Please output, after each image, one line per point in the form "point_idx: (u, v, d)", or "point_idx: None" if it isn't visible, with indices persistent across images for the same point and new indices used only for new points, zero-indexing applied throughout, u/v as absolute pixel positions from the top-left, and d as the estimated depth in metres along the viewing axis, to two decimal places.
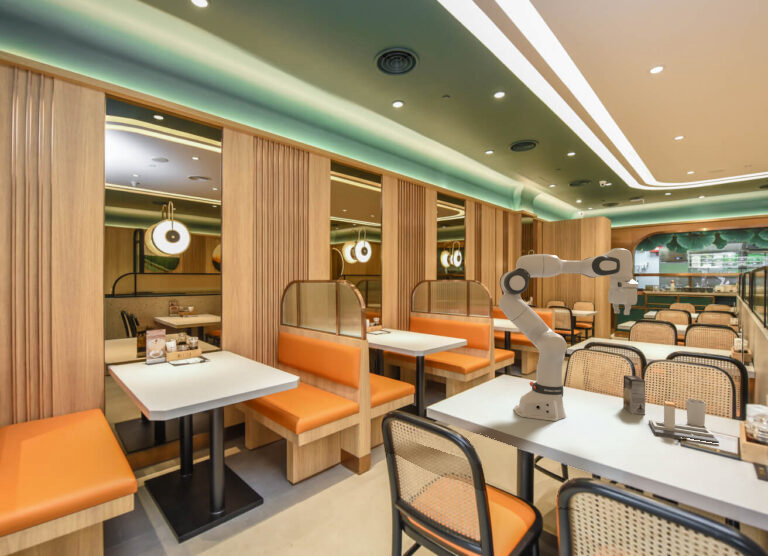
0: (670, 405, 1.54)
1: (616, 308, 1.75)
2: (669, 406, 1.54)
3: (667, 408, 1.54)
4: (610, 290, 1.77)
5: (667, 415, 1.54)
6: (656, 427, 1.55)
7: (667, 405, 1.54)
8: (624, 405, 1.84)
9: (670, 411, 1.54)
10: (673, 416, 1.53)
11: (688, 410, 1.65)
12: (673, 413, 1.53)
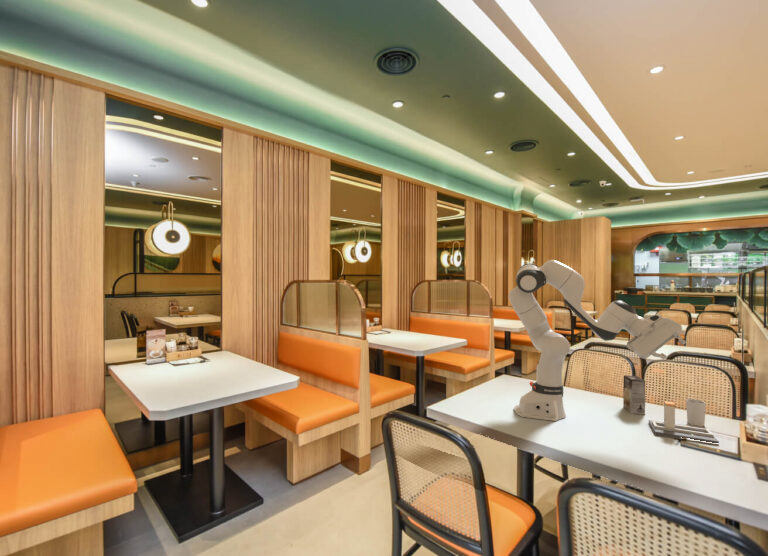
0: (670, 405, 1.54)
1: None
2: (669, 406, 1.54)
3: (667, 408, 1.54)
4: (636, 342, 1.56)
5: (667, 415, 1.54)
6: (656, 427, 1.55)
7: (667, 405, 1.54)
8: (624, 405, 1.84)
9: (670, 411, 1.54)
10: (673, 416, 1.53)
11: (688, 410, 1.65)
12: (673, 413, 1.53)
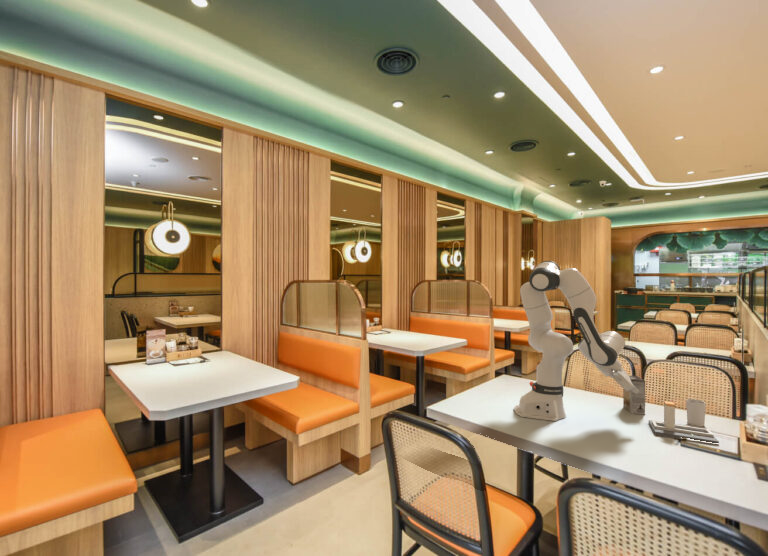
0: (670, 405, 1.54)
1: None
2: (669, 406, 1.54)
3: (667, 408, 1.54)
4: (621, 373, 1.57)
5: (667, 415, 1.54)
6: (656, 427, 1.55)
7: (667, 405, 1.54)
8: (624, 405, 1.84)
9: (670, 411, 1.54)
10: (673, 416, 1.53)
11: (688, 410, 1.65)
12: (673, 413, 1.53)
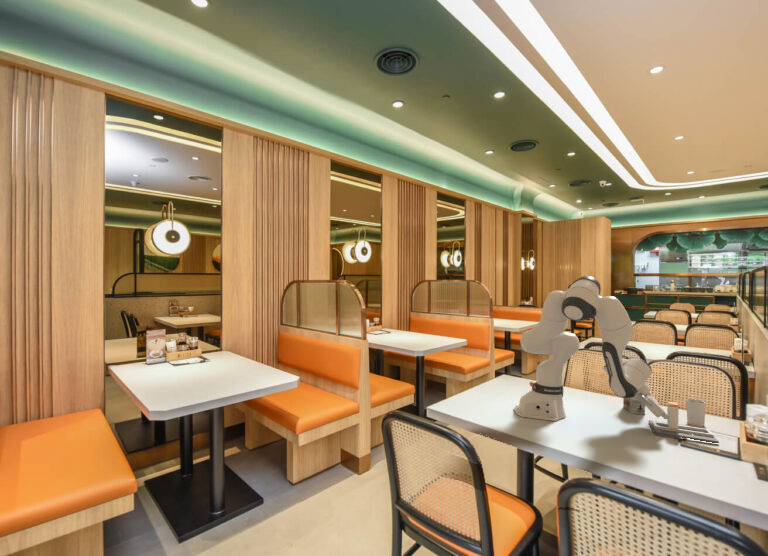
0: (673, 405, 1.53)
1: None
2: (672, 406, 1.54)
3: (670, 408, 1.54)
4: (651, 398, 1.52)
5: (670, 415, 1.54)
6: (656, 427, 1.55)
7: (670, 405, 1.54)
8: (624, 405, 1.84)
9: (673, 411, 1.53)
10: (676, 416, 1.53)
11: (688, 410, 1.65)
12: (676, 413, 1.53)
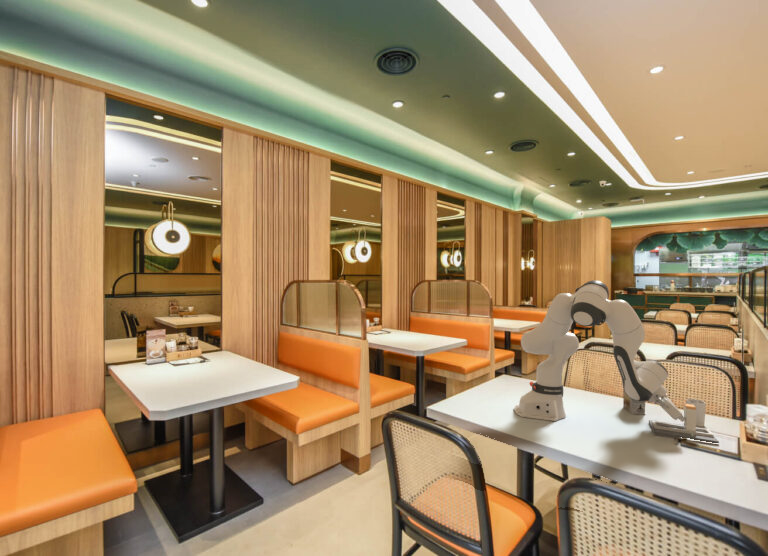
0: (691, 408, 1.51)
1: None
2: (689, 408, 1.51)
3: (688, 411, 1.51)
4: (668, 400, 1.50)
5: (688, 418, 1.51)
6: (656, 427, 1.55)
7: (688, 408, 1.51)
8: (624, 405, 1.84)
9: (691, 414, 1.51)
10: (694, 419, 1.50)
11: None
12: (694, 416, 1.50)
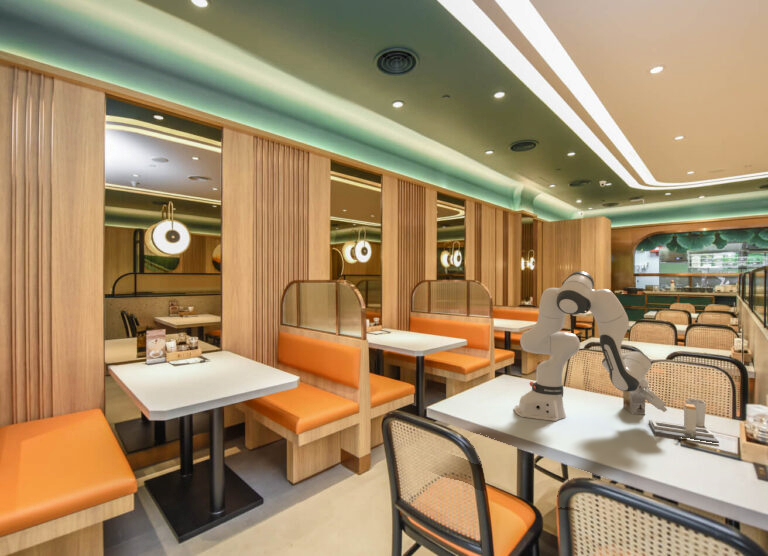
0: (691, 408, 1.51)
1: None
2: (689, 408, 1.51)
3: (688, 411, 1.51)
4: (651, 391, 1.52)
5: (688, 418, 1.51)
6: (656, 427, 1.55)
7: (688, 408, 1.51)
8: (624, 405, 1.84)
9: (691, 414, 1.51)
10: (694, 419, 1.50)
11: None
12: (694, 416, 1.50)
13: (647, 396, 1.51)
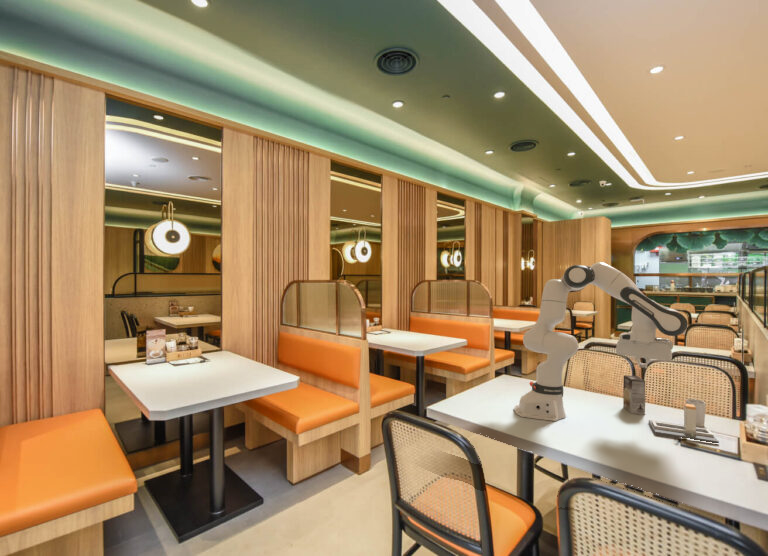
0: (691, 408, 1.51)
1: None
2: (689, 408, 1.51)
3: (688, 411, 1.51)
4: None
5: (688, 418, 1.51)
6: (656, 427, 1.55)
7: (688, 408, 1.51)
8: (624, 405, 1.84)
9: (691, 414, 1.51)
10: (694, 419, 1.50)
11: None
12: (694, 416, 1.50)
13: (669, 346, 1.57)
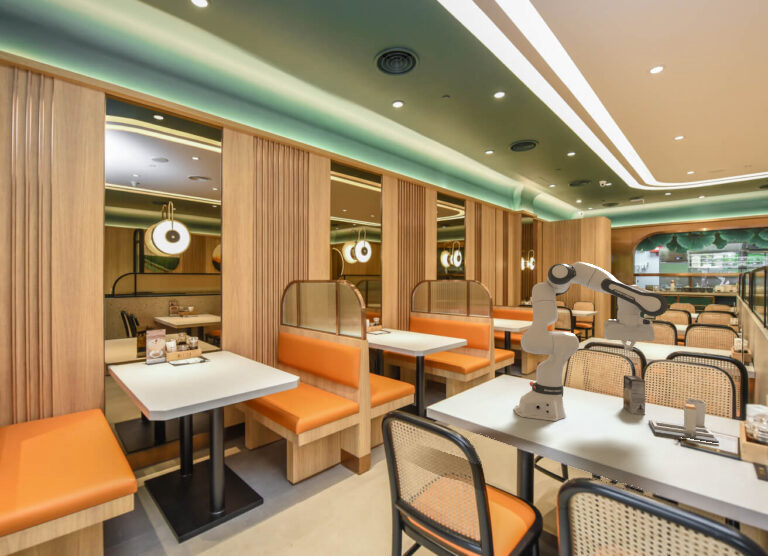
0: (691, 408, 1.51)
1: None
2: (689, 408, 1.51)
3: (688, 411, 1.51)
4: (613, 326, 1.71)
5: (688, 418, 1.51)
6: (656, 427, 1.55)
7: (688, 408, 1.51)
8: (624, 405, 1.84)
9: (691, 414, 1.51)
10: (694, 419, 1.50)
11: None
12: (694, 416, 1.50)
13: None
